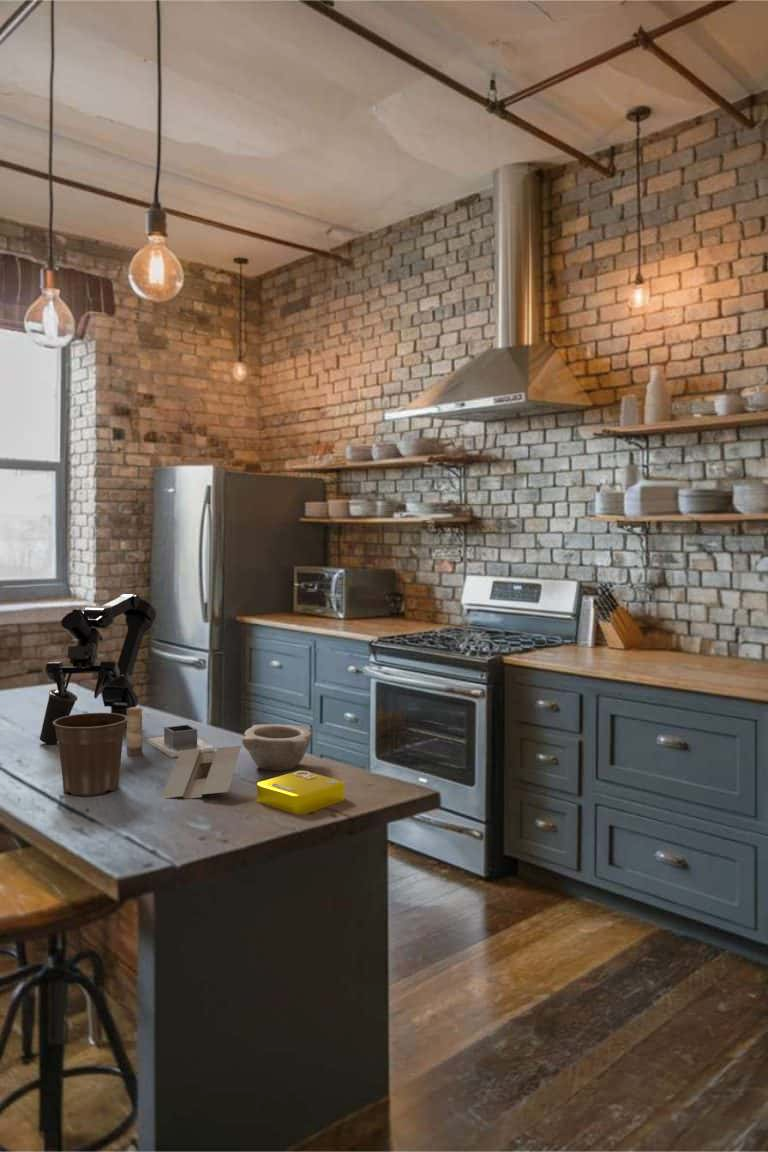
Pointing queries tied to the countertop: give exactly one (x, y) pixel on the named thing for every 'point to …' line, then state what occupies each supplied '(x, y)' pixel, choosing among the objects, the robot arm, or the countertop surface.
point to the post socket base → (180, 741)
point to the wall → (202, 773)
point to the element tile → (300, 792)
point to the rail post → (134, 731)
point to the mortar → (277, 745)
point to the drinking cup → (56, 712)
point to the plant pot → (90, 751)
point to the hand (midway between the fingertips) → (77, 698)
